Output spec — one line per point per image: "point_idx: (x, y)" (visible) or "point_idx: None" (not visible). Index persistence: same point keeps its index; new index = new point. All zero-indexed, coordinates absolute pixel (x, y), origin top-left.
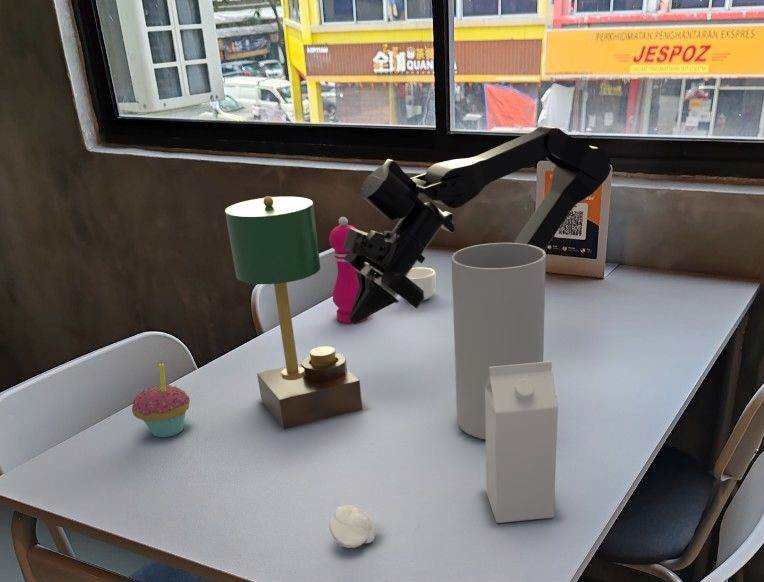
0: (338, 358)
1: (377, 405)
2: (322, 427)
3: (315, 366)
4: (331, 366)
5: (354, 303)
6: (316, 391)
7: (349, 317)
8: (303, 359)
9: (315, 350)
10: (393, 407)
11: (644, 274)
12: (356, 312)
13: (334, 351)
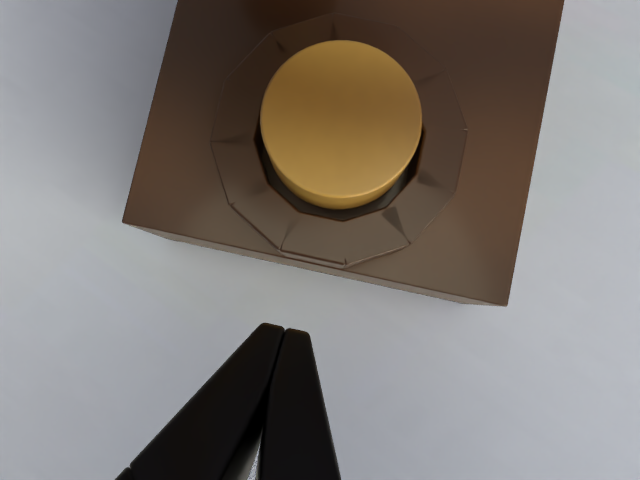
0: (305, 216)
1: (155, 306)
2: (153, 43)
3: None
4: (233, 121)
5: (309, 459)
6: (177, 6)
7: (295, 340)
8: (440, 65)
9: (379, 90)
10: (91, 342)
11: None
12: (204, 385)
13: (280, 169)
